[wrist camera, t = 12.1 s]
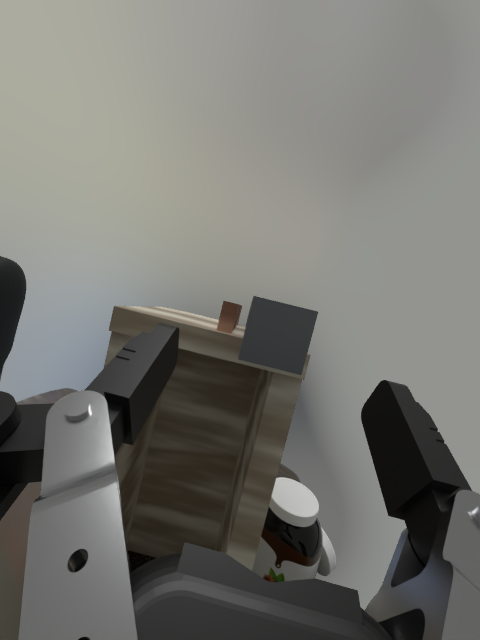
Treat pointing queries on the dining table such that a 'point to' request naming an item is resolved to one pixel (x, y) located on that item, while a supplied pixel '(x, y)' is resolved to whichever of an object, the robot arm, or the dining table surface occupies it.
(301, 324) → the bar
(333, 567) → the spread jar
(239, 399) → the wooden open box
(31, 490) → the dining table surface
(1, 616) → the dining table surface
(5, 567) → the dining table surface
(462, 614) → the robot arm
